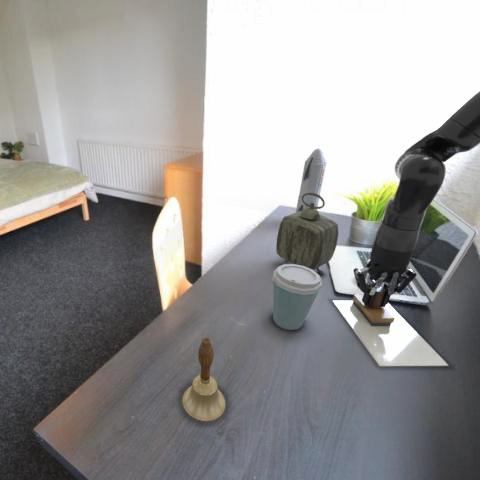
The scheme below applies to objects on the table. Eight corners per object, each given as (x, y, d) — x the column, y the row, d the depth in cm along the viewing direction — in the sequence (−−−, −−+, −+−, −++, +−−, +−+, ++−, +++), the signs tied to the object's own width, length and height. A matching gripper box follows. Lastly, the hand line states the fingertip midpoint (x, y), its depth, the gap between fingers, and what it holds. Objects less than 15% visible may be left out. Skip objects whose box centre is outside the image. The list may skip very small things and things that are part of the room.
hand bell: (226, 427, 58) (233, 361, 51) (179, 420, 60) (179, 354, 52) (226, 387, 66) (232, 324, 58) (184, 382, 67) (185, 320, 60)
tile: (384, 302, 88) (385, 299, 88) (447, 368, 69) (449, 365, 68) (331, 302, 89) (332, 300, 88) (378, 368, 69) (379, 365, 69)
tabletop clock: (328, 276, 100) (348, 197, 88) (310, 286, 95) (328, 204, 84) (287, 257, 111) (300, 184, 99) (269, 265, 106) (281, 190, 95)
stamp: (351, 302, 87) (358, 278, 84) (370, 302, 87) (377, 278, 84) (371, 326, 79) (380, 301, 76) (391, 326, 79) (401, 301, 75)
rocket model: (300, 232, 127) (315, 153, 113) (284, 226, 132) (297, 149, 118) (321, 223, 134) (338, 147, 120) (305, 218, 139) (319, 144, 126)
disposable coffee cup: (273, 304, 88) (281, 255, 82) (316, 319, 83) (329, 268, 76) (259, 327, 81) (266, 275, 74) (305, 345, 75) (318, 291, 68)
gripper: (371, 251, 71) (352, 315, 79) (439, 250, 70) (412, 314, 78) (354, 235, 78) (337, 296, 85) (415, 234, 77) (393, 295, 85)
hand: (373, 304), depth 82 cm, fingers closed on stamp, 3 cm apart
